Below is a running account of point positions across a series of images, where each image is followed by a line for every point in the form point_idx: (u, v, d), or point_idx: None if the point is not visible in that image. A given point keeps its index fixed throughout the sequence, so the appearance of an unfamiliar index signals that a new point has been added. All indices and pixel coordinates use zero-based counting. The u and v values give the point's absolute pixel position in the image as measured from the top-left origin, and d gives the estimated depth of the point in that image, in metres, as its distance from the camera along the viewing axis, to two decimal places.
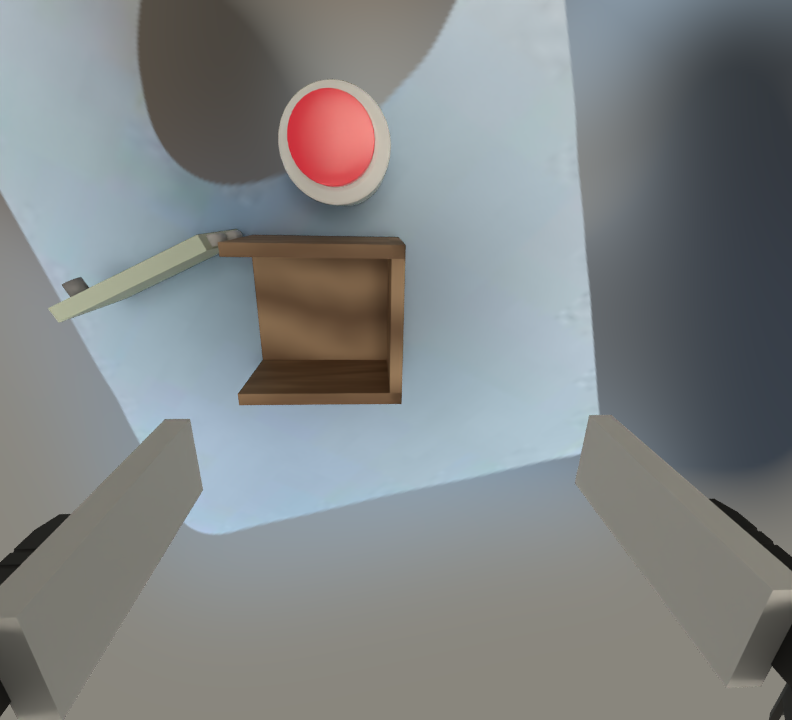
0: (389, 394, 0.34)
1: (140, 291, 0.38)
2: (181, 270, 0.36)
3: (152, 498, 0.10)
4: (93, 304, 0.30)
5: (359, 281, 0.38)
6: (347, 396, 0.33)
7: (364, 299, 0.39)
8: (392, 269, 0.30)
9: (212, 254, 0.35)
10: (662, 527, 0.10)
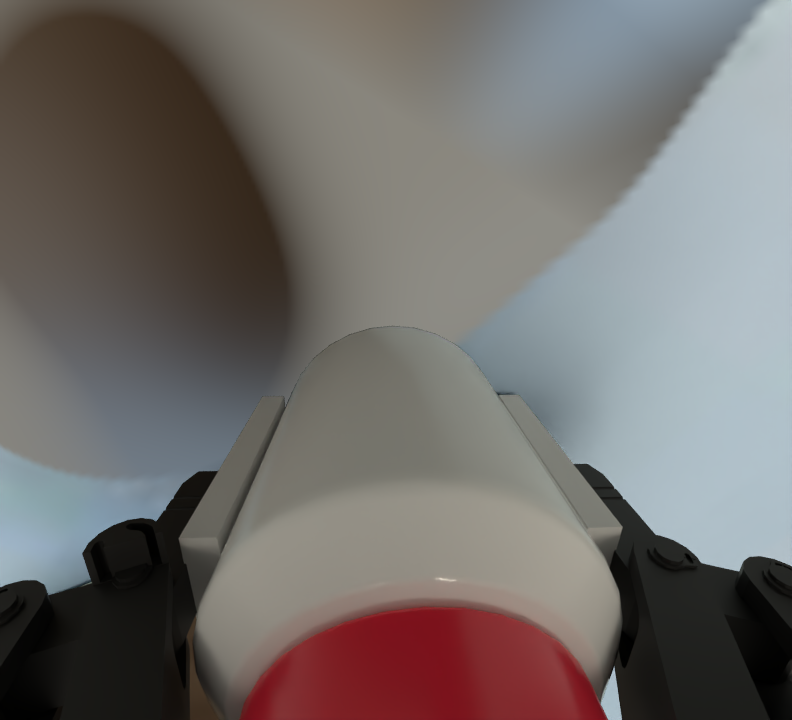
0: None
1: None
2: None
3: None
4: None
5: None
6: None
7: None
8: None
9: None
10: None
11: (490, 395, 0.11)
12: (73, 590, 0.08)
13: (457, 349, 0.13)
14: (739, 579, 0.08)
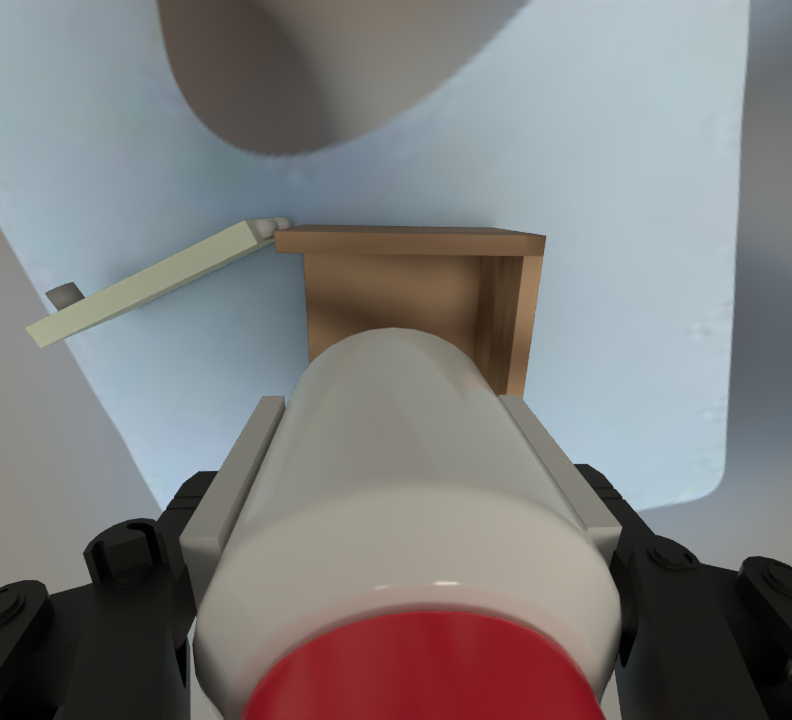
0: None
1: (153, 299, 0.29)
2: (209, 272, 0.27)
3: None
4: (90, 322, 0.20)
5: (443, 286, 0.29)
6: None
7: (447, 309, 0.29)
8: (522, 271, 0.21)
9: (253, 250, 0.26)
10: None
11: (490, 397, 0.11)
12: (74, 590, 0.08)
13: (457, 350, 0.13)
14: (738, 579, 0.08)
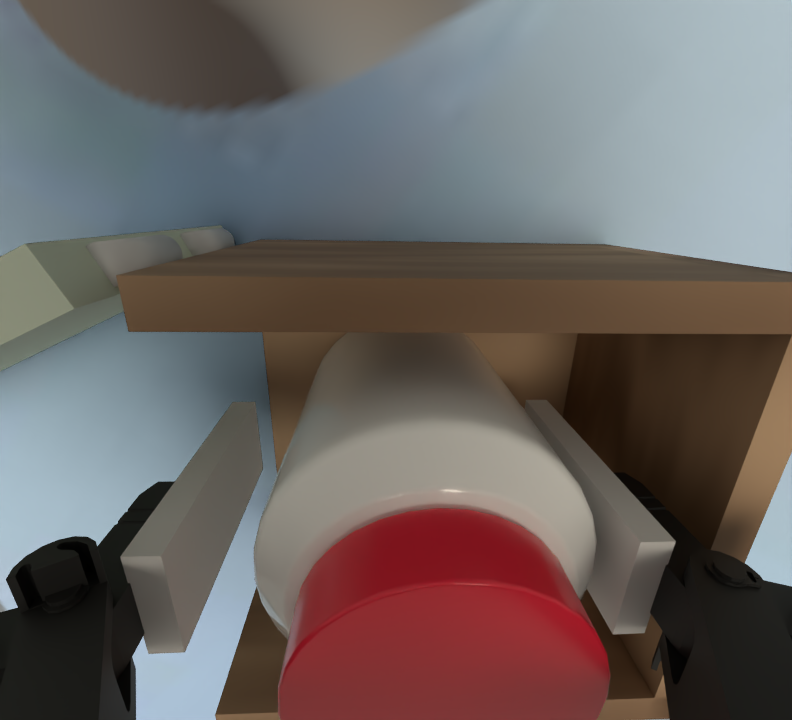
0: (652, 700, 0.12)
1: None
2: (82, 329, 0.14)
3: (233, 470, 0.12)
4: None
5: (510, 348, 0.16)
6: None
7: (516, 386, 0.17)
8: (777, 370, 0.08)
9: None
10: None
11: (491, 370, 0.12)
12: (5, 613, 0.07)
13: (462, 334, 0.15)
14: None
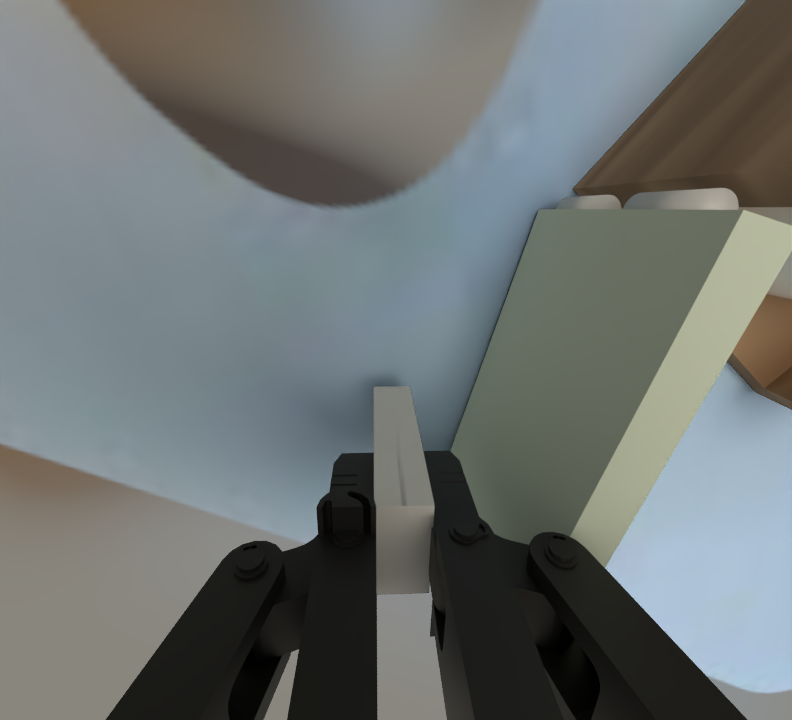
0: None
1: None
2: None
3: None
4: None
5: None
6: None
7: None
8: None
9: None
10: None
11: None
12: (289, 551, 0.09)
13: None
14: (528, 561, 0.08)
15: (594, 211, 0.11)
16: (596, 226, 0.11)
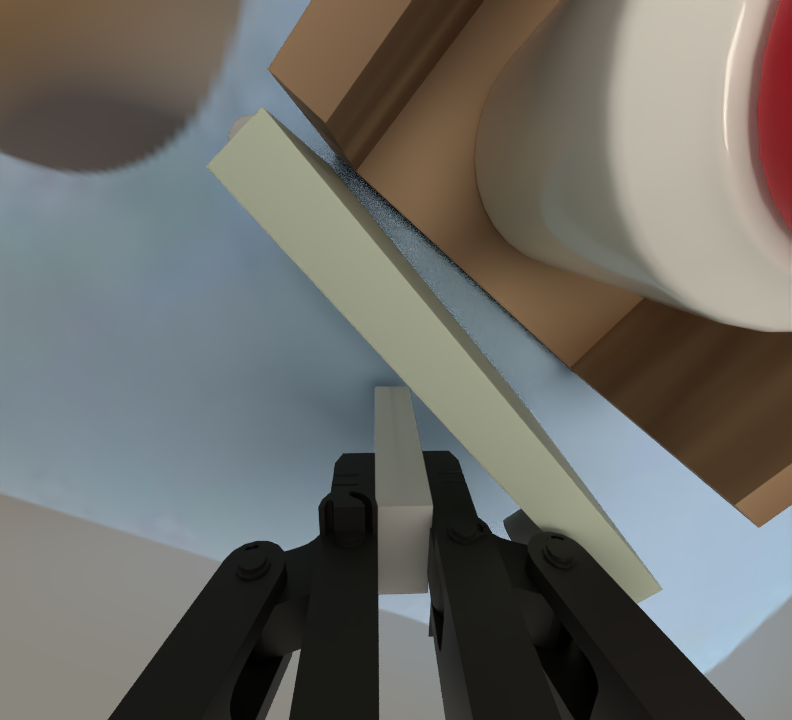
0: None
1: (511, 388, 0.17)
2: (441, 303, 0.14)
3: None
4: (593, 512, 0.09)
5: None
6: None
7: None
8: None
9: (372, 220, 0.12)
10: None
11: None
12: (291, 551, 0.09)
13: None
14: (526, 561, 0.08)
15: None
16: None
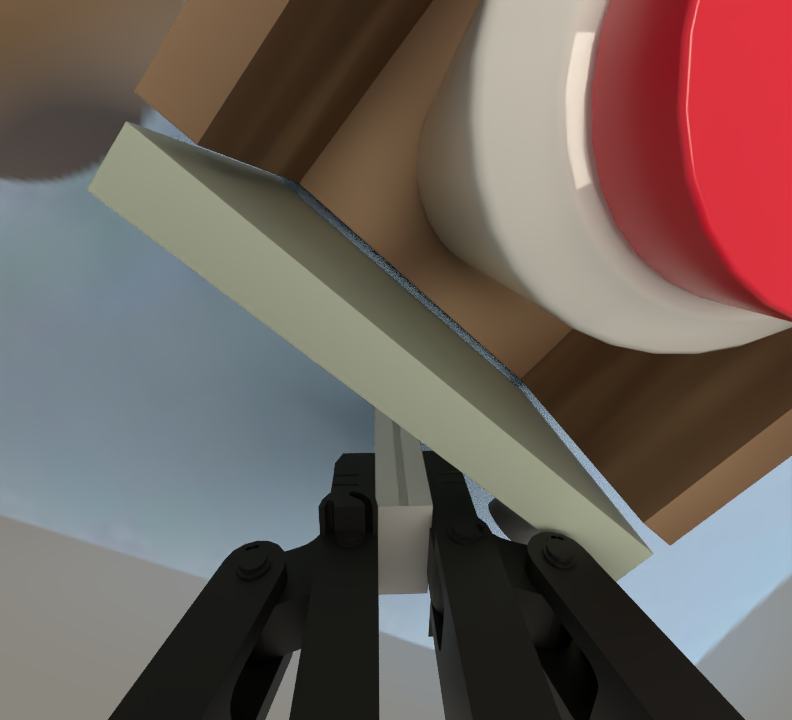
0: None
1: (496, 368, 0.17)
2: (405, 293, 0.14)
3: None
4: (559, 482, 0.08)
5: None
6: None
7: None
8: None
9: (315, 221, 0.12)
10: None
11: None
12: (291, 551, 0.09)
13: None
14: (526, 561, 0.08)
15: None
16: None
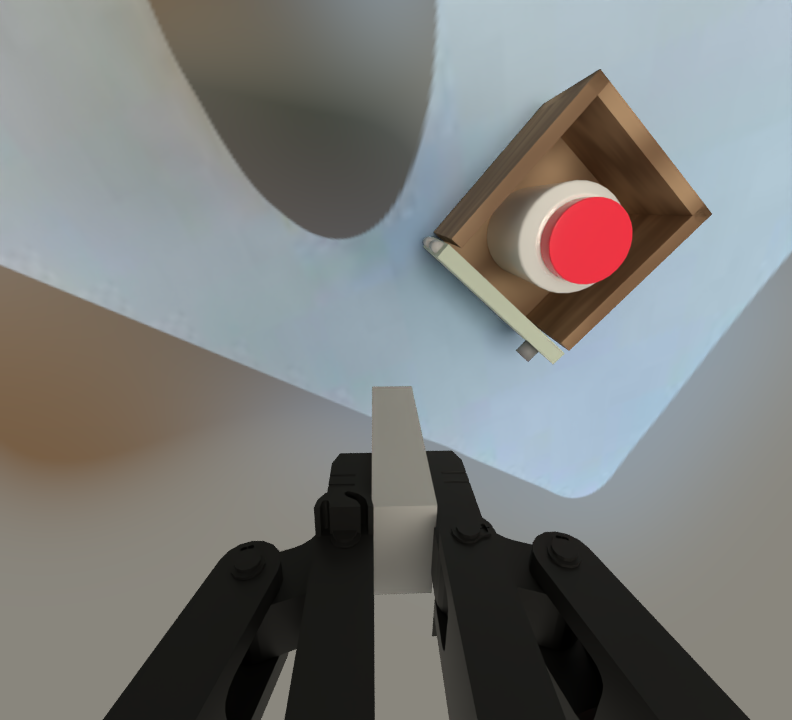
0: (693, 216, 0.29)
1: None
2: None
3: None
4: (537, 329, 0.31)
5: (546, 174, 0.34)
6: (655, 256, 0.29)
7: None
8: (605, 104, 0.26)
9: None
10: None
11: None
12: (287, 551, 0.09)
13: (525, 187, 0.34)
14: (531, 561, 0.08)
15: (429, 251, 0.33)
16: (433, 255, 0.33)
